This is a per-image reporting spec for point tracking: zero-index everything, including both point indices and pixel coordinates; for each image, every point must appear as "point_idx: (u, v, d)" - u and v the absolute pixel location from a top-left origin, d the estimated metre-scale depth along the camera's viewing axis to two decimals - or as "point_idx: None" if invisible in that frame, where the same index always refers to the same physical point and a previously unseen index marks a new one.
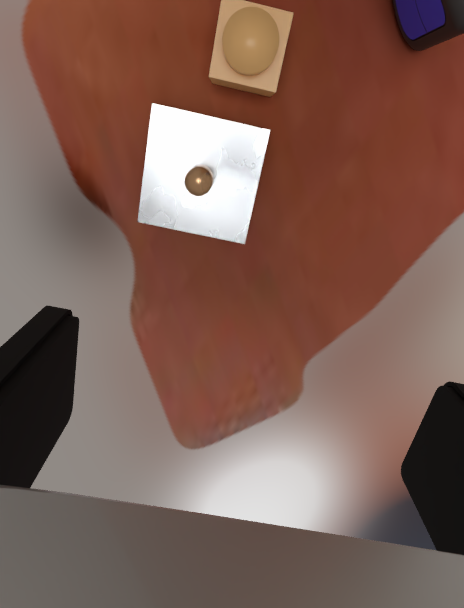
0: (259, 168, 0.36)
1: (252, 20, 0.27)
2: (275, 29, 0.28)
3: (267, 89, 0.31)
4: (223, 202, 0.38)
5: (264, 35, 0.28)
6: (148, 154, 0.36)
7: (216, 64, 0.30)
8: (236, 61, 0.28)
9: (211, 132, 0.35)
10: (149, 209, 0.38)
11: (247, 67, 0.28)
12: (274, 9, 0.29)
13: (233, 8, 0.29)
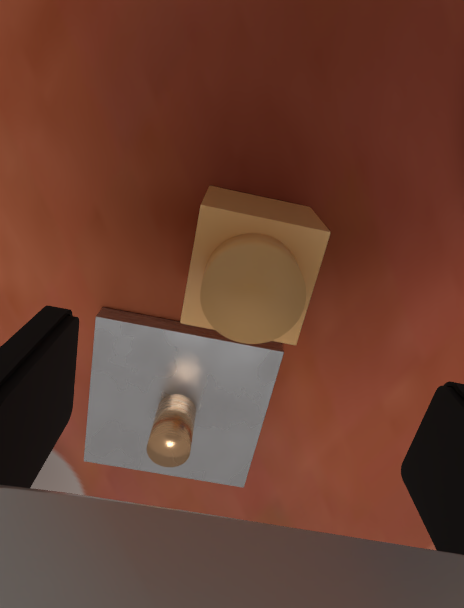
0: (266, 399, 0.24)
1: (256, 267, 0.15)
2: (299, 281, 0.15)
3: (281, 340, 0.18)
4: (211, 439, 0.25)
5: (278, 290, 0.15)
6: (94, 381, 0.23)
7: (193, 306, 0.17)
8: (226, 327, 0.16)
9: (191, 354, 0.22)
10: (100, 446, 0.25)
11: (247, 335, 0.16)
12: (296, 227, 0.16)
13: (221, 225, 0.16)
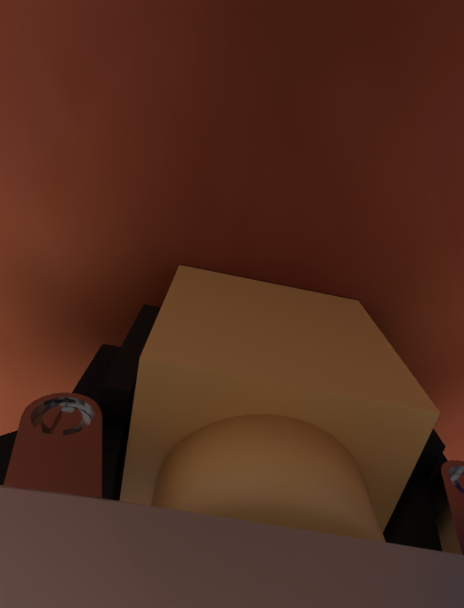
0: None
1: None
2: None
3: None
4: None
5: None
6: None
7: None
8: None
9: None
10: None
11: None
12: (361, 403, 0.07)
13: (190, 399, 0.07)
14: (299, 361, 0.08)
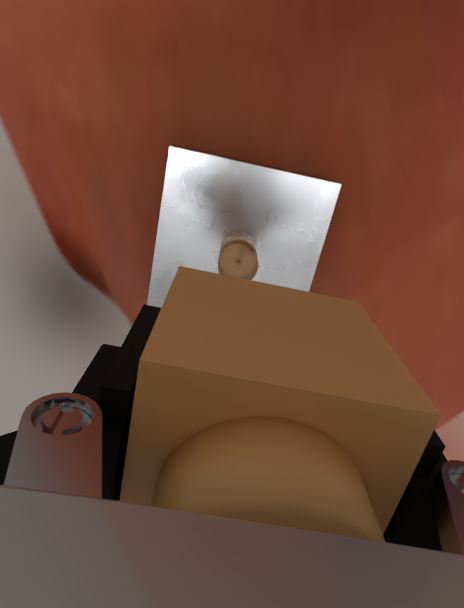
0: (322, 237, 0.25)
1: None
2: None
3: None
4: (268, 281, 0.26)
5: None
6: (163, 217, 0.25)
7: None
8: None
9: (255, 187, 0.24)
10: (163, 290, 0.27)
11: None
12: (362, 404, 0.07)
13: (190, 401, 0.07)
14: (299, 363, 0.08)
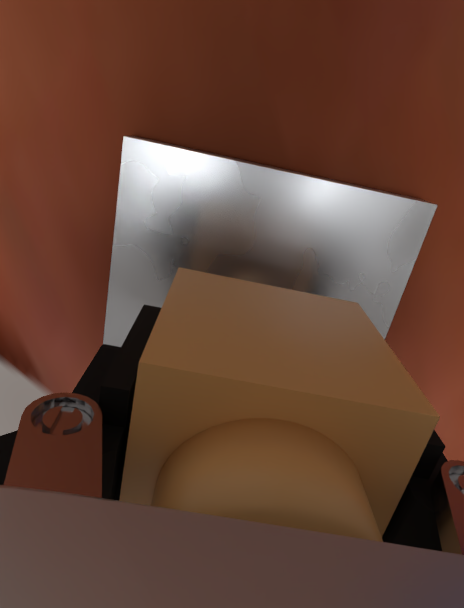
0: (396, 295, 0.14)
1: None
2: None
3: None
4: None
5: None
6: (117, 263, 0.14)
7: None
8: None
9: (281, 211, 0.13)
10: None
11: None
12: (361, 406, 0.07)
13: (189, 403, 0.07)
14: (298, 365, 0.08)
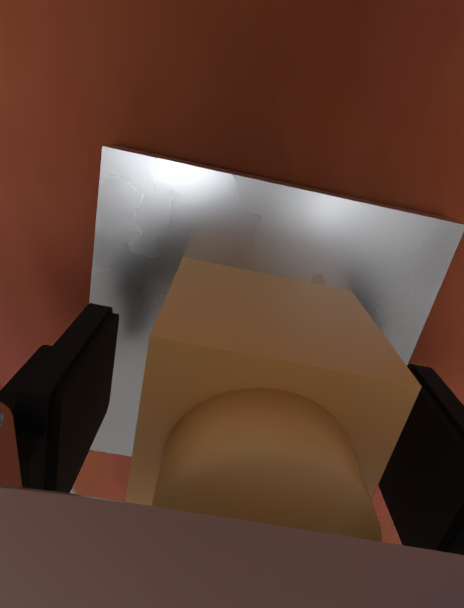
0: (417, 326, 0.13)
1: (270, 498, 0.06)
2: (368, 525, 0.06)
3: None
4: None
5: None
6: (97, 291, 0.12)
7: None
8: None
9: (286, 232, 0.12)
10: (107, 421, 0.14)
11: None
12: (350, 377, 0.08)
13: (195, 374, 0.08)
14: (294, 341, 0.08)
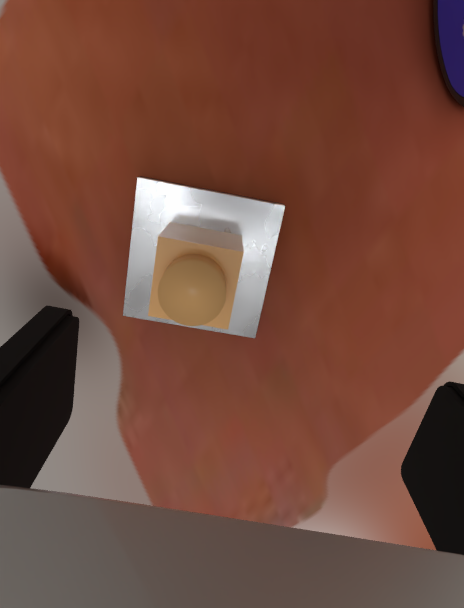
0: (272, 251, 0.29)
1: (192, 275, 0.23)
2: (220, 283, 0.23)
3: (218, 326, 0.26)
4: None
5: (207, 289, 0.23)
6: (134, 237, 0.29)
7: (156, 304, 0.25)
8: (176, 315, 0.24)
9: (212, 210, 0.28)
10: (137, 301, 0.31)
11: (190, 320, 0.24)
12: (220, 249, 0.24)
13: (172, 249, 0.24)
14: (205, 241, 0.25)
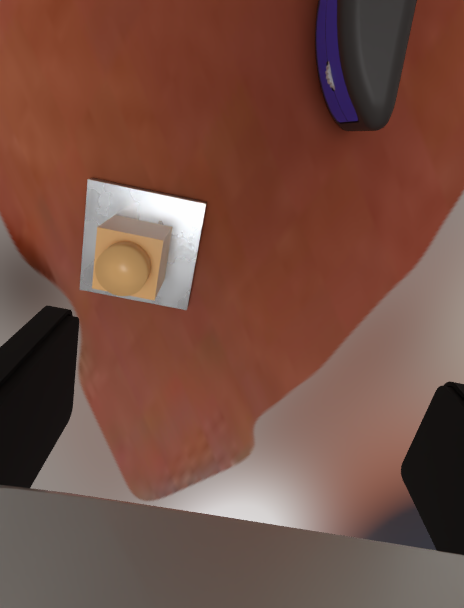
0: (197, 239, 0.37)
1: (120, 257, 0.30)
2: (142, 264, 0.31)
3: (146, 298, 0.34)
4: None
5: (132, 268, 0.31)
6: (86, 226, 0.36)
7: (98, 279, 0.33)
8: (109, 287, 0.31)
9: (147, 206, 0.36)
10: (90, 277, 0.38)
11: (120, 291, 0.31)
12: (145, 237, 0.32)
13: (108, 237, 0.32)
14: (135, 231, 0.32)
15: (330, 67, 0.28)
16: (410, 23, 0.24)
